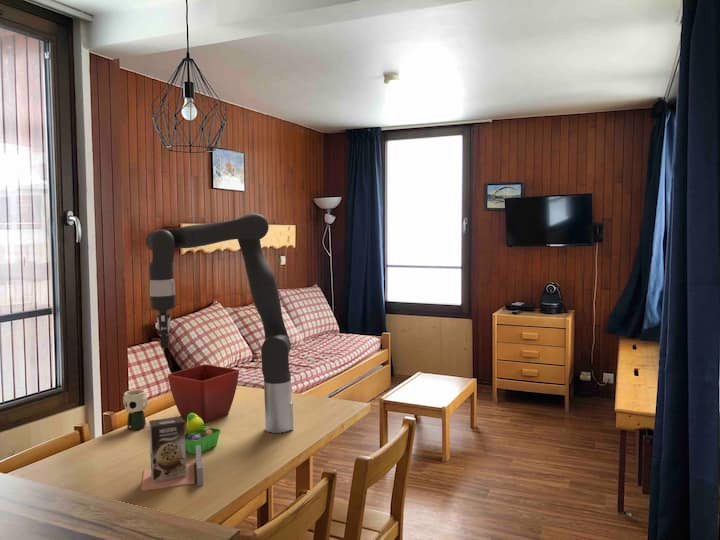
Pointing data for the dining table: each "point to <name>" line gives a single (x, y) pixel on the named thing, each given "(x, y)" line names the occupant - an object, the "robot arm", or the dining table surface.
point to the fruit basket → (199, 434)
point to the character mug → (135, 408)
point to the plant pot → (204, 391)
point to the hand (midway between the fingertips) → (165, 345)
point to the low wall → (199, 465)
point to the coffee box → (167, 449)
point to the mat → (149, 485)
